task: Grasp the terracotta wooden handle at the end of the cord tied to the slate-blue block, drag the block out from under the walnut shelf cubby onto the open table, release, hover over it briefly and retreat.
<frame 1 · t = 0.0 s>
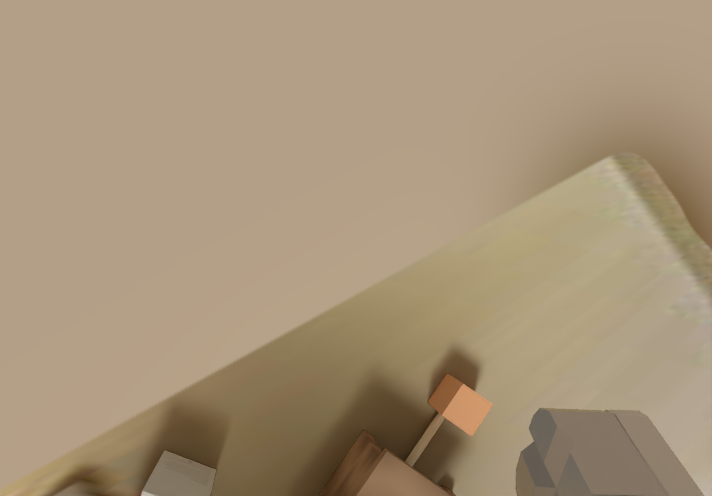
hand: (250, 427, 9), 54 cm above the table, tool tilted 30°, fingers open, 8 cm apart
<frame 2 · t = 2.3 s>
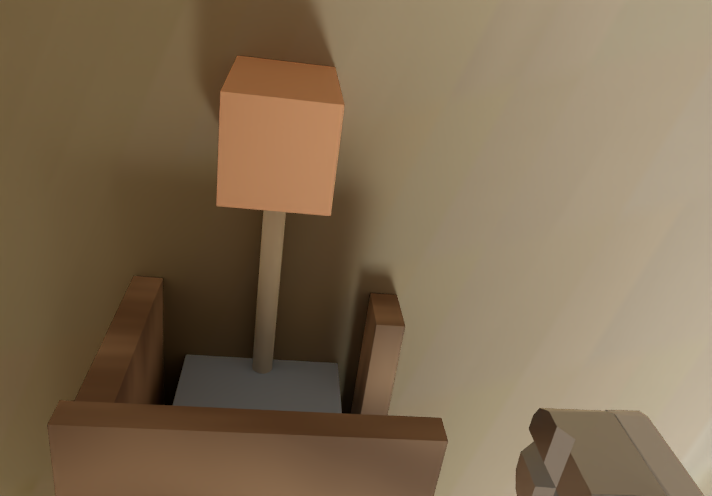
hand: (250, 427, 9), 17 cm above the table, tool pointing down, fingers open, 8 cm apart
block: (258, 416, 31), on the table
shelf: (260, 393, 30), on the table
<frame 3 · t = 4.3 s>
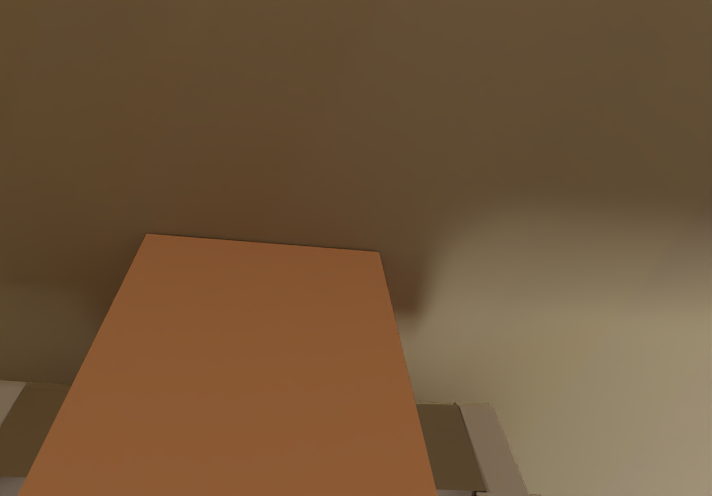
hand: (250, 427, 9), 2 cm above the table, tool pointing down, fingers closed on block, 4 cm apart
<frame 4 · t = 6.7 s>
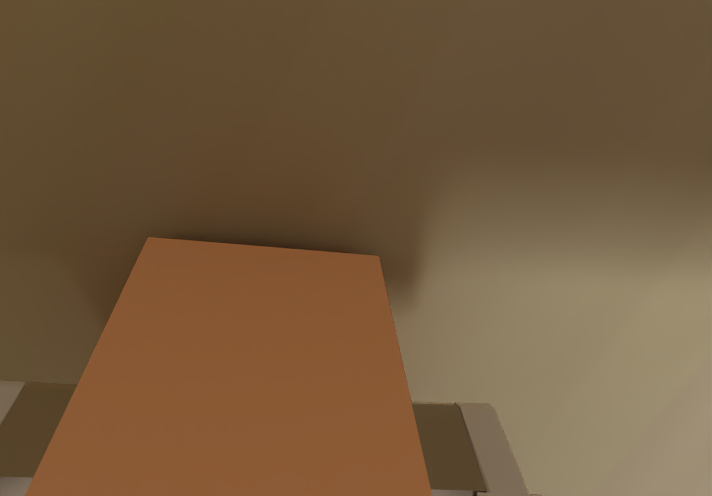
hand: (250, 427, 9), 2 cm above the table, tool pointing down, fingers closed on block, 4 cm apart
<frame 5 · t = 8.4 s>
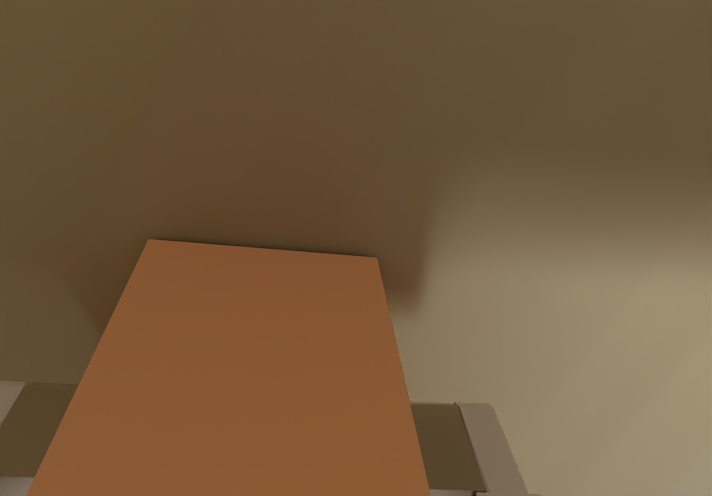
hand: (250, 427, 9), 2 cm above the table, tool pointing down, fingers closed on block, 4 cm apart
when the fingers open (2 cm above the table, at t = 9.1 s): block stays where it is, on the table.
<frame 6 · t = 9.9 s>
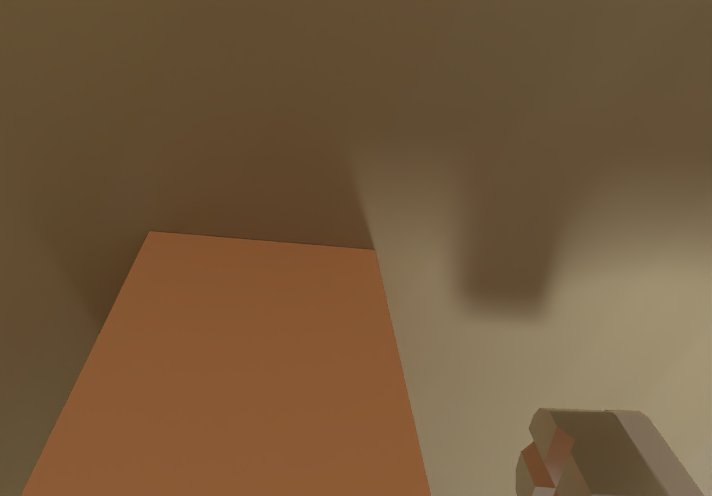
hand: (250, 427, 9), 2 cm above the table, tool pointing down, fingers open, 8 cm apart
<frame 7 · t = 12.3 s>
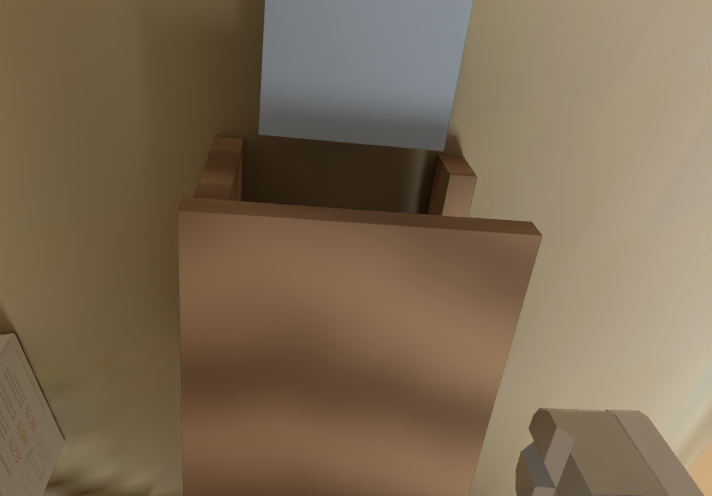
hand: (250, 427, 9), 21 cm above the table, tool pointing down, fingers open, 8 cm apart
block: (353, 23, 26), on the table
shelf: (330, 260, 31), on the table
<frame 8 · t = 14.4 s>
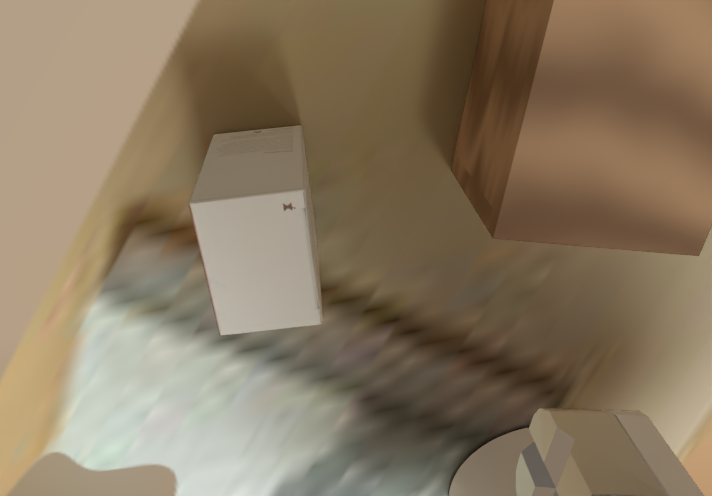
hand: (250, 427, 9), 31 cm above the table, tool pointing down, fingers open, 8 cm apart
small box: (268, 186, 40), on the table
shelf: (564, 67, 38), on the table
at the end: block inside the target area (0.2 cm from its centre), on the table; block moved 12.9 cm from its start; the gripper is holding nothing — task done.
